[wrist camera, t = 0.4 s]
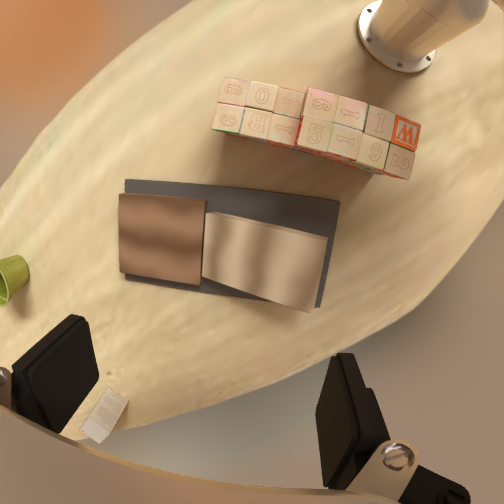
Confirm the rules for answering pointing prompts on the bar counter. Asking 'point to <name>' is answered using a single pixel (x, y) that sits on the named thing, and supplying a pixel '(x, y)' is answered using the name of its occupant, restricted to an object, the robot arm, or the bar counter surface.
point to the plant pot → (12, 277)
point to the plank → (264, 259)
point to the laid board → (162, 236)
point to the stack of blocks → (319, 125)
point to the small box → (104, 415)
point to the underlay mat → (251, 207)
